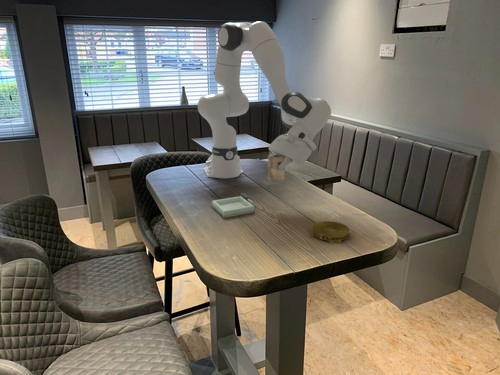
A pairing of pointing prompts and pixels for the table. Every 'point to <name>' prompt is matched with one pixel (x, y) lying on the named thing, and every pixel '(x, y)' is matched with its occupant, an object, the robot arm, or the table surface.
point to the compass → (330, 231)
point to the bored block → (275, 168)
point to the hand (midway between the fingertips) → (274, 166)
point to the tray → (232, 206)
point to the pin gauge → (247, 198)
